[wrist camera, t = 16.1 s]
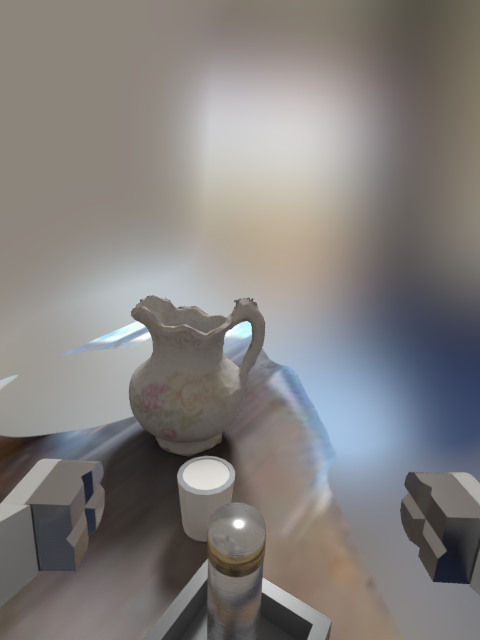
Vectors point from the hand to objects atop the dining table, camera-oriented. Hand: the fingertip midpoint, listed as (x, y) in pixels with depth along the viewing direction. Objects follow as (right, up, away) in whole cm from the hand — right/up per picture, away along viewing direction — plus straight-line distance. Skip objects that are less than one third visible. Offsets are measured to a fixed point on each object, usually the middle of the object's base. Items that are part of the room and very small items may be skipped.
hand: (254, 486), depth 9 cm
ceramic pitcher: (-8, -16, +51) cm, 54 cm away
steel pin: (-1, -23, +18) cm, 30 cm away
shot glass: (-5, -21, +33) cm, 39 cm away
